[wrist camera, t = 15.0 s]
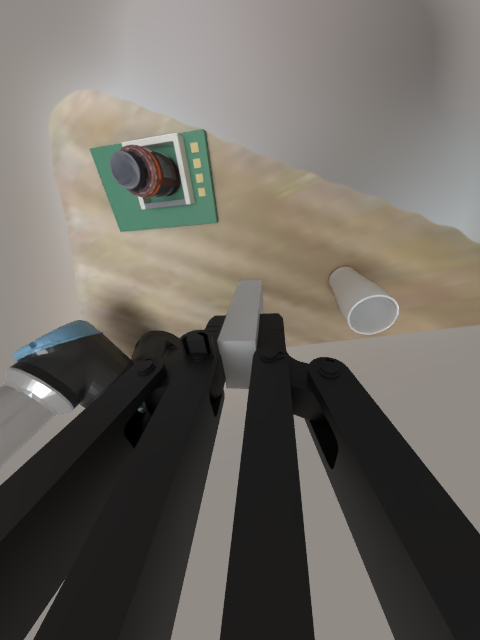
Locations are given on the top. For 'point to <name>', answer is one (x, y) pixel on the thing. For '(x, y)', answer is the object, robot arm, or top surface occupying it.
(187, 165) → the board
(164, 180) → the supplement bottle
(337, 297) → the drinking glass
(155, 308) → the top surface
